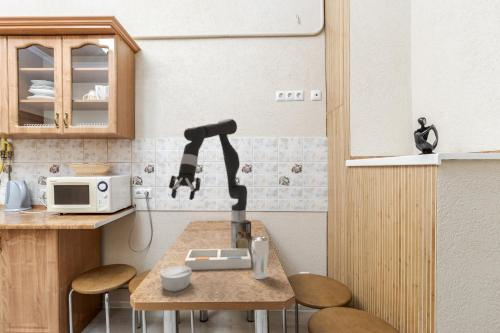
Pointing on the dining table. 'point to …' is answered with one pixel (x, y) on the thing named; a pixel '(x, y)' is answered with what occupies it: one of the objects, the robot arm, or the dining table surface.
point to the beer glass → (260, 257)
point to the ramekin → (176, 277)
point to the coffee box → (241, 234)
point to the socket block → (218, 259)
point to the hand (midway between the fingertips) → (182, 198)
